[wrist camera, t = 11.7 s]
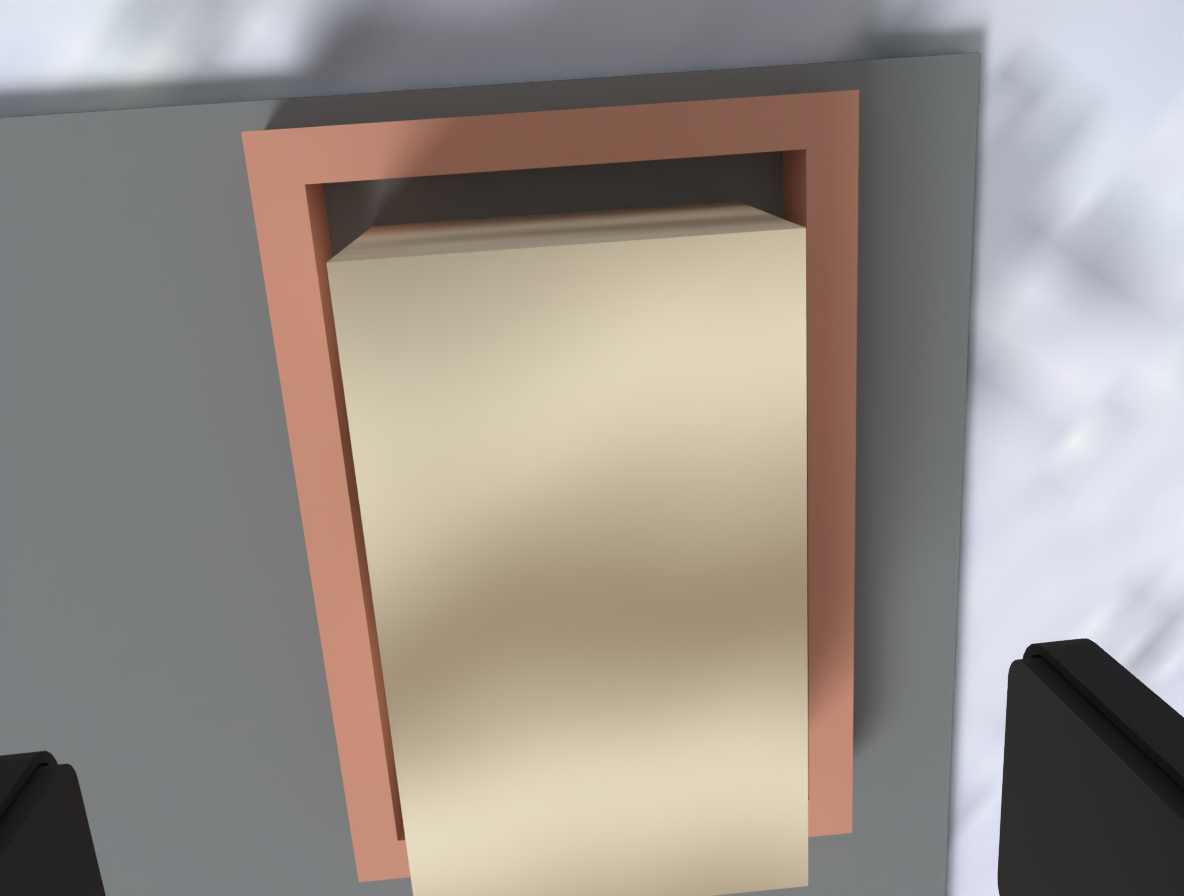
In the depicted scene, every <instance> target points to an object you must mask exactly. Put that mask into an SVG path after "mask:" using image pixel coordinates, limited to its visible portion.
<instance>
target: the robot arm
mask: <svg viewBox="0 0 1184 896" xmlns="http://www.w3.org/2000/svg"><path fill="white" fill-rule="evenodd" d="M998 889H999V895H1000V896H1184V717H1182V716H1181V715H1180V714H1179V713H1178V712H1177V711H1175V710H1174V709H1173V708H1172V707H1171V706H1169V705H1168V704H1167V703H1166V702H1165V701H1163V700H1162V699H1161V698H1160V697H1159V696H1158V695H1156V694H1155V693H1154V692H1153V691H1152V690H1150V689H1149V688H1148V687H1147V686H1146V685H1144V684H1143V683H1142V682H1141V681H1140V680H1139V679H1137V678H1136V677H1135V676H1134V675H1133V674H1131V673H1130V672H1129V671H1128V670H1127V669H1125V668H1124V667H1123V666H1122V665H1121V664H1120V663H1118V662H1117V661H1116V660H1115V659H1114V658H1112V657H1111V656H1110V655H1109V654H1108V653H1106V652H1105V651H1104V650H1103V649H1102V648H1101V647H1099V646H1098V645H1097V644H1096V643H1095V642H1093V641H1091V640H1089V639H1073V640H1064V641H1055V642H1046V643H1036V644H1031V645H1030V646H1029V647H1027V649H1026V651H1025V653H1024V655H1023V659H1020V660H1015V661H1014V662H1012V664H1011V666H1010V668H1009V674H1008V690H1007V708H1006V727H1005V746H1004V765H1003V784H1002V802H1001V821H1000V840H999V859H998ZM0 896H106V895H105V890H104V886H103V882H102V878H101V873H100V869H99V865H98V861H97V857H96V852H95V848H94V844H93V840H92V836H91V831H90V827H89V823H88V819H87V814H86V810H85V806H84V802H83V798H82V793H81V789H80V785H79V781H78V777H77V774H76V771H75V770H74V768H73V767H72V766H71V765H70V764H68V763H67V764H58V763H57V761H56V759H55V758H54V756H53V755H52V754H51V753H50V752H48V751H37V752H28V753H19V754H10V755H0Z"/></svg>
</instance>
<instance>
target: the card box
mask: <svg viewBox="0 0 1184 896" xmlns="http://www.w3.org/2000/svg"><path fill="white" fill-rule="evenodd" d="M326 264H327V271H328V278H329V285H330V293H331V300H332V307H333V315H334V322H335V329H336V336H337V344H338V351H339V358H340V366H341V373H342V380H343V387H344V395H345V402H346V409H347V417H348V424H349V431H350V438H351V446H352V453H353V460H354V468H355V475H356V482H357V489H358V497H359V504H360V511H361V519H362V526H363V533H364V540H365V548H366V555H367V562H368V570H369V577H370V584H371V591H372V599H373V606H374V613H375V621H376V628H377V635H378V643H379V650H380V657H381V664H382V672H383V679H384V686H385V694H386V701H387V708H388V715H389V723H390V730H391V737H392V745H393V752H394V759H395V766H396V774H397V781H398V788H399V796H400V803H401V810H402V817H403V825H404V832H405V839H406V847H407V854H408V861H409V868H410V876H411V883H412V890H413V896H714V895H724V894H734V893H744V892H754V891H764V890H773V889H783V888H793V887H803V886H808V668H807V378H806V228H805V227H802V226H800V225H797V224H795V223H792V222H790V221H787V220H784V219H782V218H779V217H777V216H774V215H772V214H769V213H767V212H764V211H761V210H759V209H756V208H754V207H751V206H749V205H746V204H743V203H741V202H738V201H723V202H709V203H695V204H680V205H666V206H652V207H638V208H624V209H610V210H596V211H582V212H568V213H554V214H540V215H526V216H511V217H497V218H483V219H469V220H455V221H441V222H427V223H413V224H399V225H385V226H372V227H371V228H370V229H368V230H367V231H366V232H365V233H363V234H362V235H361V236H360V237H358V238H357V239H356V240H354V241H353V242H352V243H351V244H349V245H348V246H347V247H346V248H344V249H343V250H342V251H341V252H339V253H338V254H337V255H335V256H334V257H333V258H332V259H330V260H329V261H328V262H327V263H326Z"/></svg>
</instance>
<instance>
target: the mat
mask: <svg viewBox="0 0 1184 896" xmlns="http://www.w3.org/2000/svg"><path fill="white" fill-rule="evenodd" d="M979 65H980V52H978V53H963V54H948V55H933V56H918V57H903V58H888V59H873V60H858V61H843V62H828V63H813V64H798V65H783V66H768V67H754V68H739V69H724V70H709V71H694V72H679V73H664V74H649V75H634V76H619V77H604V78H589V79H574V80H559V81H544V82H529V83H514V84H499V85H484V86H469V87H454V88H439V89H424V90H409V91H394V92H379V93H364V94H349V95H334V96H319V97H304V98H289V99H274V100H259V101H244V102H229V103H214V104H199V105H184V106H169V107H154V108H139V109H124V110H109V111H94V112H79V113H64V114H49V115H35V116H20V117H5V118H0V755H10V754H19V753H28V752H37V751H48V752H50V753H51V754H52V755H53V756H54V758H55V759H56V761H57V763H58V764H67V763H68V764H70V765H71V766H72V767H73V768H74V770H75V771H76V774H77V777H78V781H79V785H80V789H81V793H82V798H83V802H84V806H85V810H86V814H87V819H88V823H89V827H90V831H91V836H92V840H93V844H94V848H95V852H96V857H97V861H98V865H99V869H100V873H101V878H102V882H103V886H104V890H105V895H106V896H413V890H412V883H411V876H410V868H409V861H408V854H407V847H406V839H405V832H404V825H403V817H402V810H401V803H400V796H399V788H398V781H397V774H396V766H395V759H394V752H393V745H392V737H391V730H390V723H389V715H388V708H387V701H386V694H385V686H384V679H383V672H382V664H381V657H380V650H379V643H378V635H377V628H376V621H375V613H374V606H373V599H372V591H371V584H370V577H369V570H368V562H367V555H366V548H365V540H364V533H363V526H362V519H361V511H360V504H359V497H358V489H357V482H356V475H355V468H354V460H353V453H352V446H351V438H350V431H349V424H348V417H347V409H346V402H345V395H344V387H343V380H342V373H341V366H340V358H339V351H338V344H337V336H336V329H335V322H334V315H333V307H332V300H331V293H330V285H329V278H328V271H327V264H326V263H327V262H328V261H329V260H330V259H332V258H333V257H334V256H335V255H337V254H338V253H339V252H341V251H342V250H343V249H344V248H346V247H347V246H348V245H349V244H351V243H352V242H353V241H354V240H356V239H357V238H358V237H360V236H361V235H362V234H363V233H365V232H366V231H367V230H368V229H370V228H371V227H372V226H385V225H399V224H413V223H427V222H441V221H455V220H469V219H483V218H497V217H511V216H526V215H540V214H554V213H568V212H582V211H596V210H610V209H624V208H638V207H652V206H666V205H680V204H695V203H709V202H723V201H738V202H741V203H743V204H746V205H749V206H751V207H754V208H756V209H759V210H761V211H764V212H767V213H769V214H772V215H774V216H777V217H779V218H782V219H784V220H787V221H790V222H792V223H795V224H797V225H800V226H802V227H805V228H806V378H807V668H808V886H803V887H793V888H783V889H773V890H764V891H754V892H744V893H734V894H724V895H714V896H945V889H946V865H947V841H948V817H949V793H950V768H951V744H952V720H953V696H954V671H955V647H956V623H957V599H958V574H959V550H960V526H961V502H962V477H963V453H964V429H965V405H966V381H967V356H968V332H969V308H970V284H971V259H972V235H973V211H974V187H975V162H976V138H977V114H978V90H979Z"/></svg>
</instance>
